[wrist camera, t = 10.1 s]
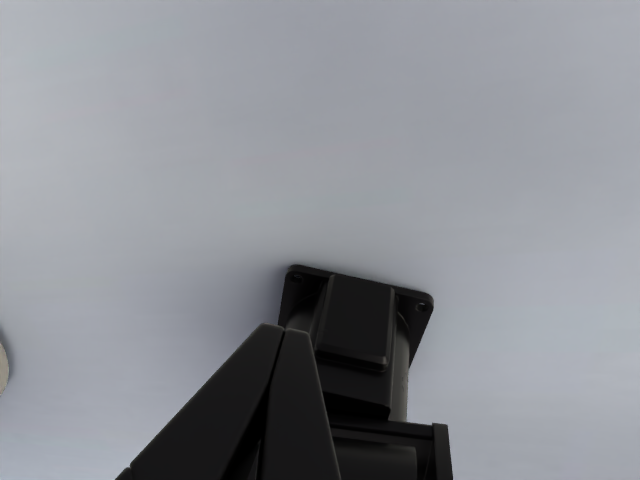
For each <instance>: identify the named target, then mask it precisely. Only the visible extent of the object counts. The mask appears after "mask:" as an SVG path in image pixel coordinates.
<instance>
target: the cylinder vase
mask: <svg viewBox="0 0 640 480" xmlns="http://www.w3.org/2000/svg"><path fill="white" fill-rule="evenodd" d="M8 376H9V365H8V359H7V356H6V352H5V350H4V347H3V345H2V343H1V341H0V396H1V394H2V393H3V391H4V389H5V387H6V384H7V381H8Z"/></svg>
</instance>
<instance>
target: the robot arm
mask: <svg viewBox="0 0 640 480" xmlns="http://www.w3.org/2000/svg"><path fill="white" fill-rule="evenodd" d="M294 275H298V276H300V277H301V278H297V277H295V276H294ZM419 303H424V304H425V305H419ZM433 307H434V300H433V298H432V296H430V295H429V294H427V293H424V292H419V291H414V290H410V289H405V288H401V287H396V286H392V285H387V284H383V283H378V282H374V281H369V280H365V279H360V278H356V277H351V276H347V275H342V274H338V273H333V272H329V271H324V270H320V269H315V268H311V267H306V266H302V265H292V266H291V267H289V268H288V270H287V273H286V277H285V283H284V289H283V295H282V301H281V307H280V314H279V320H278V325H273V324H269V323H262V324H261V325H259V326H258V327H257V328H256V329H255V330H254V332H253V333H252V334H251V335H250V336H249V337H248V338H247V339H246V340H245V341H244V342H243V343H242V344H241V345H240V347H239V348H238V349H237V350H236V351H235V352H234V353H233V354H232V355H231V356H230V357H229V358H228V359H227V360H226V362H225V363H224V364H223V365H222V366H221V367H220V368H219V369H218V370H217V371H216V372H215V373H214V374H213V375H212V376H211V378H210V379H209V380H208V381H207V382H206V383H205V384H204V385H203V386H202V387H201V388H200V389H199V390H198V391H197V393H196V394H195V395H194V396H193V397H192V398H191V399H190V400H189V401H188V402H187V403H186V404H185V405H184V406H183V408H182V409H181V410H180V411H179V412H178V413H177V414H176V415H175V416H174V417H173V418H172V419H171V420H170V421H169V423H168V424H167V425H166V426H165V427H164V428H163V429H162V430H161V431H160V432H159V433H158V434H157V435H156V436H155V438H154V439H153V440H152V441H151V442H150V443H149V444H148V445H147V446H146V447H145V448H144V449H143V450H142V451H141V452H140V454H139V455H138V456H137V457H136V458H135V459H134V460H133V461H132V462H131V463H130V468H129V467H127V468H125V469H124V470H123V471H122V473H121V474H120V475H119V476H118V477H117V478H116V479H115V480H453V474H452V464H451V454H450V445H449V435H448V426H447V425H446V424H438V423H432V425H426V424H418V423H410V422H406V421H407V396H408V372H409V368H410V365H411V363H412V360H413V358H414V356H415V353H416V351H417V348H418V346H419V343H420V341H421V338H422V336H423V334H424V331H425V329H426V326H427V324H428V321H429V319H430V316H431V314H432V312H433Z"/></svg>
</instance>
